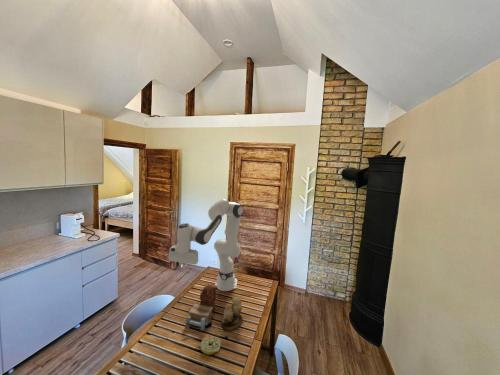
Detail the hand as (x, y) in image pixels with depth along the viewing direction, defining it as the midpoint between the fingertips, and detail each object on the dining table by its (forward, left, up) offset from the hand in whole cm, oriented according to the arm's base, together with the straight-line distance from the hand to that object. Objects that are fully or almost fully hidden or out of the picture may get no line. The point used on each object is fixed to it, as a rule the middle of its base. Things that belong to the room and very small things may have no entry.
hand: (183, 268), depth 148 cm
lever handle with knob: (+11, +15, -31) cm, 36 cm away
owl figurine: (0, +36, -31) cm, 47 cm away
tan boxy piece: (+5, +15, -31) cm, 35 cm away
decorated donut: (+23, +30, -32) cm, 49 cm away
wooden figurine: (-7, +16, -31) cm, 36 cm away
